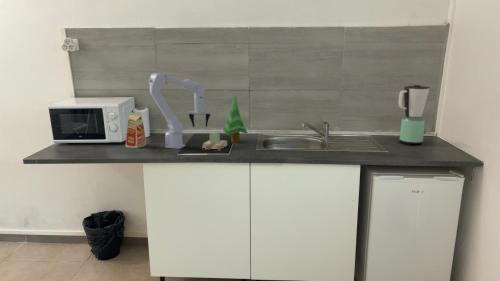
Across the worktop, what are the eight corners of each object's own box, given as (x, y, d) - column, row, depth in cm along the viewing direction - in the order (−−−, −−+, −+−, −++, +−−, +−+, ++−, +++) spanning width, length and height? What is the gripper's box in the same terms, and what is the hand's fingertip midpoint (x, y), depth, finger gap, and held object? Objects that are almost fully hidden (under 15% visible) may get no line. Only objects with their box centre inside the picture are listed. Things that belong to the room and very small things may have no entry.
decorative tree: (251, 140, 228) (251, 92, 221) (236, 145, 215) (235, 95, 208) (234, 137, 235) (234, 91, 228) (218, 142, 223) (217, 93, 216)
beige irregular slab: (202, 148, 209) (202, 143, 208) (210, 144, 219) (210, 139, 219) (220, 150, 206) (220, 145, 205) (227, 145, 216) (227, 140, 215)
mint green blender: (415, 139, 230) (421, 84, 221) (430, 145, 217) (437, 86, 208) (388, 141, 226) (394, 84, 217) (402, 146, 213) (408, 86, 205)
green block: (209, 143, 210) (209, 132, 209) (212, 141, 214) (212, 131, 213) (217, 143, 209) (216, 133, 207) (219, 141, 213) (219, 131, 212)
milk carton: (125, 146, 214) (122, 113, 209) (135, 143, 222) (133, 110, 217) (138, 148, 211) (135, 114, 206) (148, 144, 219) (145, 111, 214)
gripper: (186, 105, 212) (187, 128, 215) (211, 105, 212) (211, 127, 216) (187, 103, 218) (188, 125, 222) (211, 103, 219) (212, 125, 222)
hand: (200, 126), depth 219 cm, fingers open, 7 cm apart
